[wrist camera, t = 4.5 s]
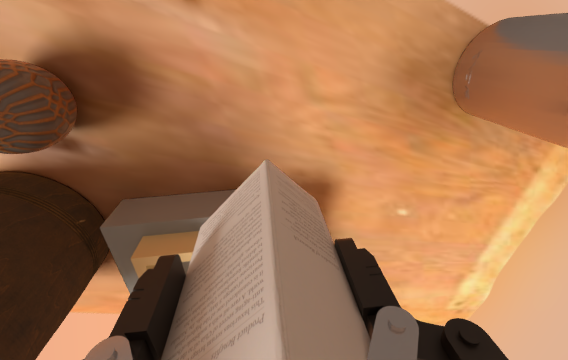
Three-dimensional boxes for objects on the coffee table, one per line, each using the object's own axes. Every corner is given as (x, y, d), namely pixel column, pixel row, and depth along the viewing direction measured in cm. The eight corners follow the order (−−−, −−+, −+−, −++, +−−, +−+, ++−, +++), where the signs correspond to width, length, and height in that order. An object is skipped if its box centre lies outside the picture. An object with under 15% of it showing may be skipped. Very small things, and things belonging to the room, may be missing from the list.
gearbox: (285, 184, 31) (294, 228, 24) (289, 272, 37) (297, 327, 30) (122, 199, 29) (81, 250, 22) (156, 287, 36) (133, 348, 29)
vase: (65, 49, 23) (-33, 55, 15) (104, 128, 26) (41, 166, 18) (-17, 65, 22) (-158, 78, 15) (33, 141, 26) (-62, 185, 18)
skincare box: (254, 258, 18) (246, 592, 7) (199, 224, 16) (81, 589, 5) (321, 198, 16) (448, 521, 5) (267, 153, 14) (292, 487, 4)
